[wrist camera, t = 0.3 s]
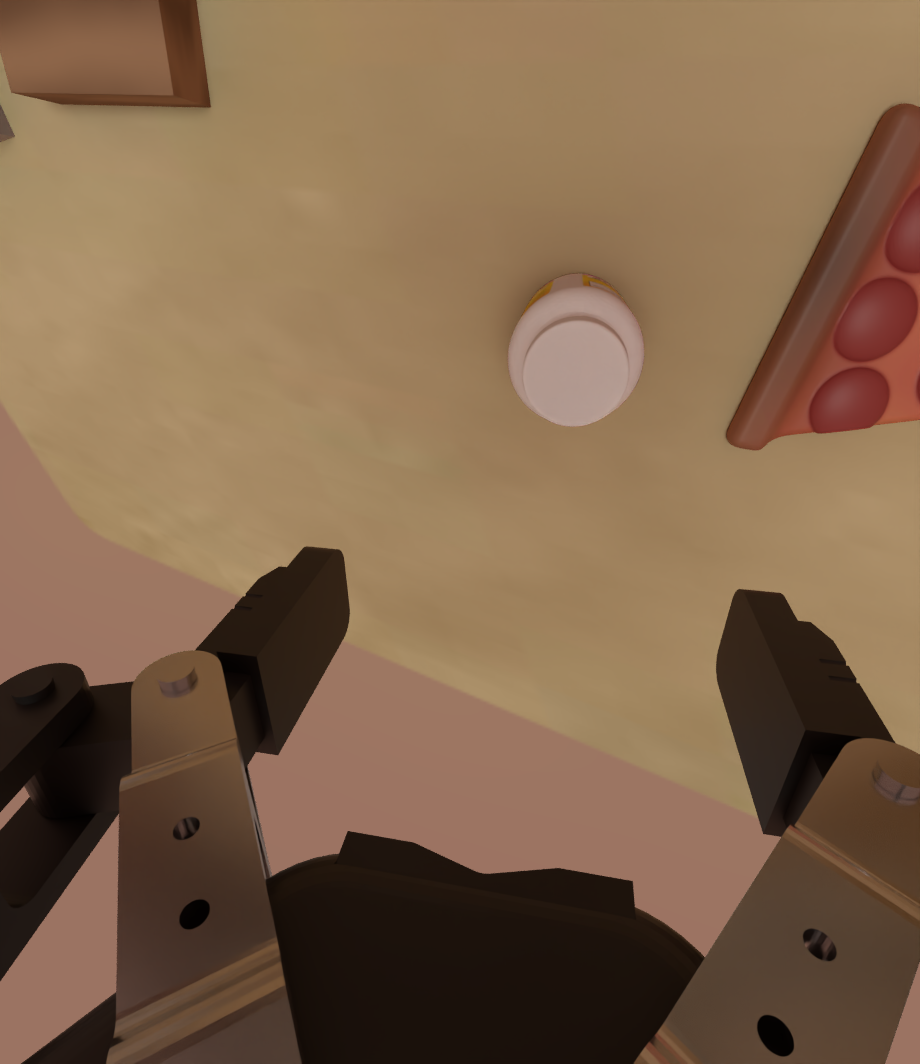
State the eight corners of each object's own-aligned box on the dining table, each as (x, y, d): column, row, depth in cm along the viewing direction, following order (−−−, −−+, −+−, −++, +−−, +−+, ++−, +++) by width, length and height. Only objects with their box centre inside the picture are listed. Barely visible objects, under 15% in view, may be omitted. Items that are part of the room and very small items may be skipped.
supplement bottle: (526, 386, 39) (505, 452, 27) (517, 280, 36) (489, 305, 24) (629, 377, 37) (651, 442, 26) (629, 265, 34) (654, 285, 23)
